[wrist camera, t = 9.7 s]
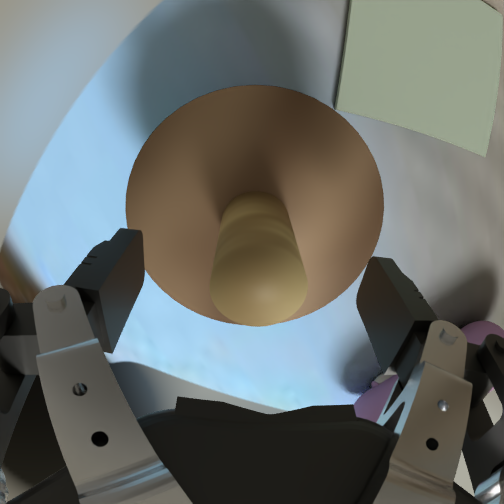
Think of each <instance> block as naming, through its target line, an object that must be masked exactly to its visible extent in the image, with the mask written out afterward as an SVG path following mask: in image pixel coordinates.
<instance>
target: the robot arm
mask: <svg viewBox="0 0 504 504" xmlns="http://www.w3.org/2000/svg"><path fill="white" fill-rule="evenodd" d="M144 275H145V266H144V247H143V233H142V231H141V230H135V229H125V228H120V229H119V230H118V231H117V232H116V234H115V235H114V236H113V237H112V239H111V240H110V241H103V242H102V243H100V244H98V245H96V246H95V247H93V249H92V250H91V251H90V252H89V253H88V255H87V257H85V258H84V260H83V261H82V262H81V264H80V265H79V266H78V267H77V268H76V270H75V271H74V272H73V273H72V275H71V276H70V277H69V279H68V280H67V281H66V282H65V284H64V285H56V286H52V287H49V288H46V289H44V290H43V291H41V292H40V293H39V294H38V295H37V296H36V297H35V299H34V301H33V303H15V304H13V303H12V300H11V297H10V294H9V292H8V291H7V290H5V289H2V288H0V504H504V338H503V337H501V336H499V335H496V334H488V335H487V336H486V337H485V339H484V341H483V342H482V344H481V345H477V344H473V343H469V342H467V339H466V336H465V335H464V333H463V332H462V331H461V330H460V329H459V328H458V327H457V326H455V325H454V324H452V323H450V322H448V321H444V320H438V318H437V317H436V315H435V314H434V312H433V311H432V309H431V308H430V306H429V305H428V303H427V302H426V300H425V299H423V296H422V294H421V293H420V292H418V288H417V287H416V286H415V284H414V283H413V281H412V280H410V279H409V278H408V277H407V276H406V275H404V274H403V273H402V272H401V270H400V269H399V267H398V266H397V265H396V263H395V262H394V260H393V259H391V258H383V257H375V256H373V257H371V258H370V260H369V262H368V264H367V267H366V270H365V273H364V276H363V279H362V282H361V284H360V287H359V290H358V293H357V299H356V304H357V309H358V311H359V314H360V316H361V319H362V321H363V323H364V326H365V328H366V331H367V333H368V336H369V338H370V341H371V343H372V346H373V348H374V351H375V354H376V356H377V359H378V361H379V364H380V367H381V369H382V372H383V375H396V374H397V375H398V377H399V378H398V379H397V381H396V382H395V384H394V386H393V388H392V390H391V393H390V395H389V397H388V399H387V402H386V404H385V406H384V408H383V410H382V412H381V414H380V417H379V419H378V421H377V422H373V421H370V420H368V419H364V418H360V417H356V413H355V409H354V405H353V404H352V405H325V406H310V407H306V408H302V409H297V410H292V411H288V412H283V413H278V414H264V413H260V412H256V411H253V410H249V409H245V408H242V407H238V406H235V405H231V404H228V403H225V402H219V401H210V400H201V399H193V398H185V397H177V403H176V408H175V409H168V410H162V411H157V412H153V413H149V414H146V415H144V416H142V417H139V418H137V419H136V418H135V416H134V415H133V413H132V411H131V409H130V407H129V405H128V403H127V401H126V400H125V397H124V396H123V393H122V392H121V390H120V387H119V385H118V383H117V381H116V379H115V377H114V375H113V373H112V370H111V368H110V366H109V364H108V361H107V359H106V357H105V355H104V352H107V353H112V354H113V351H114V349H115V347H116V344H117V342H118V340H119V337H120V335H121V333H122V330H123V328H124V326H125V323H126V321H127V319H128V317H129V314H130V312H131V310H132V308H133V306H134V303H135V301H136V299H137V297H138V295H139V293H140V290H141V288H142V286H143V282H144ZM36 375H40V379H41V384H42V388H43V392H44V396H45V400H46V404H47V408H48V411H49V415H50V418H51V422H52V425H53V428H54V431H55V434H56V437H57V440H58V443H59V446H60V449H61V451H62V454H63V457H64V460H65V462H66V465H67V466H65V467H64V468H62V469H61V470H59V471H57V472H56V473H54V474H53V475H51V476H50V477H48V478H47V479H45V480H43V481H42V482H40V483H38V484H37V485H35V486H34V487H32V488H31V489H29V490H27V491H25V492H24V493H22V494H20V495H19V496H17V497H15V498H13V499H12V500H10V501H8V502H7V503H6V499H7V498H8V496H9V492H8V489H7V487H6V480H5V476H4V473H3V471H2V469H1V466H2V462H3V459H4V456H5V453H6V450H7V447H8V444H9V441H10V438H11V436H12V433H13V430H14V427H15V425H16V422H17V419H18V417H19V414H20V412H21V409H22V407H23V404H24V402H25V399H26V397H27V395H28V393H29V390H30V388H31V386H32V383H33V381H34V379H35V376H36ZM493 387H494V389H495V391H496V393H497V395H498V397H499V399H500V401H501V403H502V407H503V413H502V416H501V418H500V420H499V421H498V422H497V423H496V424H495V425H493V423H492V421H491V418H490V416H489V414H488V411H487V409H486V407H485V404H484V402H483V399H484V397H485V396H486V395H487V394H488V393H489V392H490V390H491V389H492V388H493ZM461 450H462V452H463V455H464V458H465V462H466V465H467V468H468V472H469V475H470V479H471V482H472V486H473V490H474V494H475V496H474V497H473V496H472V495H471V494H470V493H468V492H467V491H466V490H464V489H463V488H462V487H460V486H459V485H458V484H456V483H455V482H454V478H455V474H456V470H457V467H458V463H459V459H460V455H461Z"/></svg>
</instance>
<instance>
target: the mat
mask: <svg viewBox="0 0 504 504" xmlns="http://www.w3.org/2000/svg"><path fill="white" fill-rule="evenodd" d="M502 27H503V16H502V15H501V14H500V13H499V12H497V11H496V10H495V9H493V8H492V7H490V6H489V5H487V4H486V3H484V2H483V1H481V0H350V4H349V12H348V20H347V28H346V36H345V43H344V50H343V57H342V64H341V71H340V77H339V84H338V90H337V96H336V102H335V108H334V109H335V110H340V111H344V112H348V113H353V114H357V115H361V116H365V117H369V118H372V119H376V120H380V121H383V122H387V123H391V124H394V125H397V126H401V127H404V128H407V129H410V130H414V131H417V132H420V133H423V134H426V135H429V136H432V137H434V138H437V139H440V140H443V141H446V142H448V143H451V144H454V145H456V146H459V147H461V148H464V149H466V150H469V151H471V152H474V153H476V154H478V155H481V156H483V157H485V156H486V152H487V148H488V144H489V139H490V134H491V129H492V124H493V119H494V113H495V107H496V101H497V94H498V86H499V77H500V67H501V54H502Z"/></svg>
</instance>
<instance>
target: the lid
mask: <svg viewBox="0 0 504 504" xmlns="http://www.w3.org/2000/svg"><path fill="white" fill-rule="evenodd" d="M383 212H384V198H383V188H382V183H381V177H380V174H379V171H378V168H377V165H376V162H375V160H374V158H373V156H372V154H371V152H370V150H369V148H368V146H367V145H366V143H365V142H364V140H363V139H362V138H361V136H360V135H359V133H358V132H357V131H356V130H355V129H354V128H353V127H352V126H351V125H350V123H349V122H348V121H347V120H346V119H345V118H343V117H342V116H341V115H340V114H338V113H337V112H336V111H334V110H333V109H332V108H330V107H329V106H327V105H325V104H324V103H322V102H320V101H318V100H317V99H315V98H313V97H310V96H308V95H305V94H302V93H300V92H297V91H294V90H290V89H285V88H281V87H276V86H265V85H246V86H235V87H230V88H225V89H221V90H217V91H214V92H211V93H208V94H206V95H203V96H200V97H198V98H196V99H194V100H192V101H191V102H189V103H187V104H185V105H183V106H182V107H180V108H179V109H177V110H176V111H175V112H174V113H172V114H171V115H170V116H168V117H167V118H166V119H165V120H164V121H163V122H162V123H161V124H160V125H159V126H158V127H157V128H156V129H155V130H154V131H153V132H152V134H151V135H150V136H149V138H148V139H147V141H146V142H145V144H144V145H143V146H142V148H141V150H140V152H139V154H138V156H137V158H136V160H135V162H134V165H133V168H132V171H131V174H130V177H129V181H128V186H127V192H126V220H127V227H128V229H135V230H141V231H142V233H143V247H144V266H145V270H146V271H147V273H148V274H149V276H150V277H151V278H152V280H153V281H154V282H155V283H156V284H157V285H158V286H159V287H160V288H161V289H162V290H163V291H164V292H165V293H167V294H168V295H169V296H170V297H171V298H173V299H174V300H175V301H177V302H178V303H180V304H181V305H183V306H184V307H186V308H188V309H190V310H192V311H194V312H196V313H198V314H200V315H203V316H206V317H208V318H211V319H214V320H218V321H222V322H226V323H232V324H239V325H247V326H268V325H273V324H276V323H282V322H286V321H290V320H293V319H297V318H300V317H302V316H305V315H307V314H310V313H312V312H314V311H316V310H318V309H320V308H322V307H324V306H325V305H327V304H328V303H330V302H331V301H333V300H334V299H336V298H337V297H338V296H339V295H341V294H342V293H343V292H344V291H345V290H346V289H347V288H348V287H349V286H350V285H351V284H352V283H353V282H354V281H355V280H356V279H357V278H358V276H359V275H360V274H361V272H362V271H363V269H364V268H365V267H366V265H367V263H368V261H369V260H370V258H371V256H372V254H373V252H374V249H375V247H376V244H377V242H378V239H379V235H380V231H381V227H382V222H383Z"/></svg>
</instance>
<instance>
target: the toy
mask: <svg viewBox="0 0 504 504" xmlns="http://www.w3.org/2000/svg"><path fill="white" fill-rule="evenodd" d="M460 330H461V331H462V332H463V333H464V335H465V336H466V339H467V342H469V343H473V344H477V345H481V344H482V342H483V341H484V339H485V337H486V336H487V335H488V334H496V335H499V336H501V337H503V338H504V330H503V329H502V328H501V327H499V326H498V325H496V324H494V323H492V322H489V321H476V322H473V323H470V324H468V325H466V326H464V327H463V328H461V329H460ZM398 378H399V377H398V375H397V374H396V375H383V373H382V374H380V375H378V376H377V378H376V379H375V380H374V381H372V383H371V385H372V388H371V389H369V390H368V391H366V392H365V393H364V394H363V395H361V396H360V397H359V398H358V399H357V401H356V402H355V403H354V409H355V413H356V417H360V418H364V419H368V420H370V421H373V422H377V421H378V419H379V417H380V414H381V412H382V410H383V408H384V406H385V404H386V402H387V399H388V397H389V395H390V393H391V390H392V388H393V386H394V384H395V382H396V381H397V379H398ZM493 389H494V387H493V388H492V389H491V390H490V391H492V390H493Z"/></svg>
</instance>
